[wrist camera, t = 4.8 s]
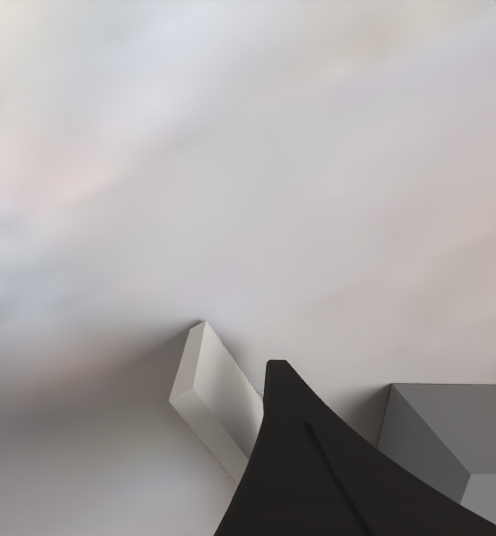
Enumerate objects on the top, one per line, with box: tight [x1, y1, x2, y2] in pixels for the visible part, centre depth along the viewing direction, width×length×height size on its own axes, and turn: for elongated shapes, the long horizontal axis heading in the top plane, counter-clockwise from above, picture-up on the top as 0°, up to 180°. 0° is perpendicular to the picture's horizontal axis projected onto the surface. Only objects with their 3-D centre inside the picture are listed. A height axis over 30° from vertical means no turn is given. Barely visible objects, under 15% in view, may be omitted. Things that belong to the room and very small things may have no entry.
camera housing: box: [377, 384, 496, 525], centre depth 13 cm, size 7×11×4 cm, turn 176°
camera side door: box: [169, 320, 263, 485], centre depth 12 cm, size 1×16×4 cm, turn 30°
